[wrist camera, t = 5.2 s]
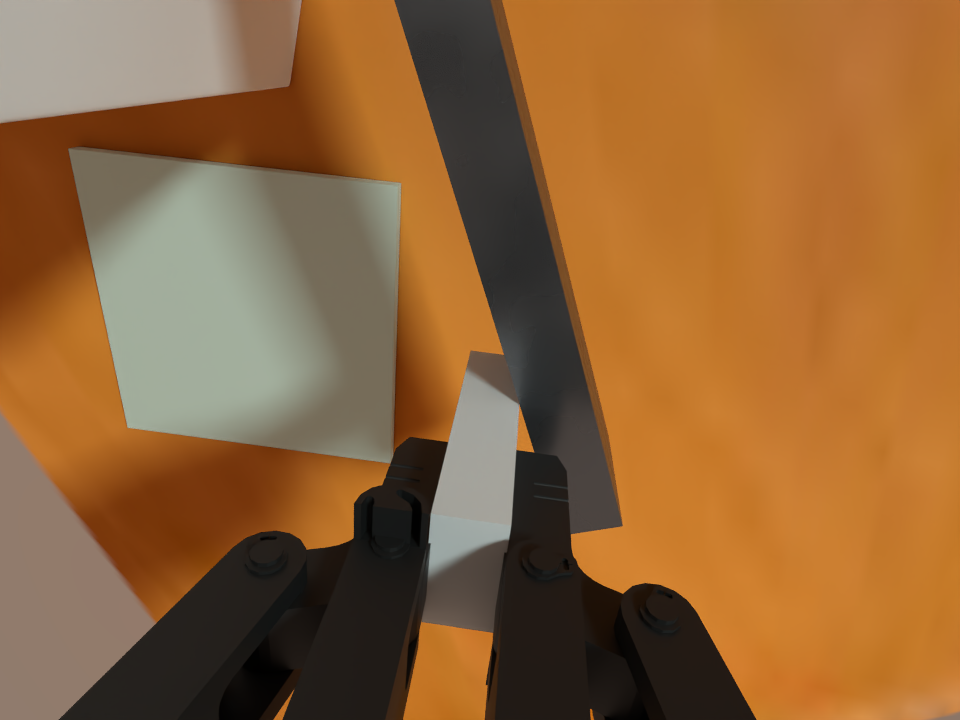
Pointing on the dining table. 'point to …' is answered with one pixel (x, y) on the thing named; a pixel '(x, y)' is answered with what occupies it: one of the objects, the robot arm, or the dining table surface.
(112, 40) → the milk
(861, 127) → the dining table surface
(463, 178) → the dark grey metallic bar
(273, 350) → the mat
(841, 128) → the dining table surface
